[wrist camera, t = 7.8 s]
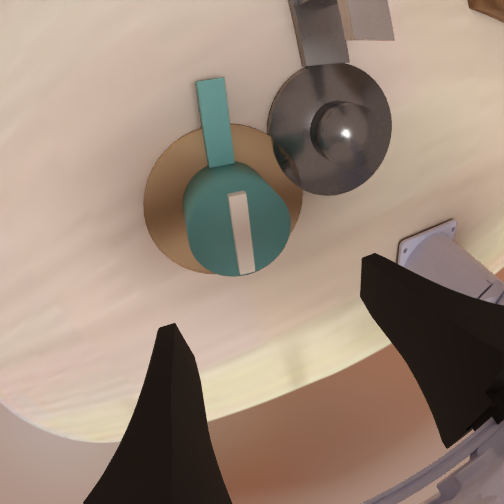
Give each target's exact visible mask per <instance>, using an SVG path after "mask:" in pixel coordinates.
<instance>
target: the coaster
mask: <svg viewBox="0 0 504 504" xmlns="http://www.w3.org/2000/svg"><path fill="white" fill-rule="evenodd" d="M230 129H231V136H232V144H233V152H234V160H235V161H237V162H241V163H244V164H246V165H248V166H250V167H251V168H253V169H254V170H255V171H256V172H257V173H258V174H259V175H260V176H261V177H262V178H263V179H264V180H265V181H266V182H267V183H268V184H269V185H270V186H271V188H272V189H273V190H274V191H275V192H276V193H277V194H278V195H279V196H280V197H281V198H282V200H283V201H284V202H285V204H286V206H287V208H288V210H289V214H290V219H291V229H290V233H291V232H292V230H293V228H294V226H295V224H296V222H297V220H298V217H299V214H300V210H301V205H302V188H300V187H298V185H295V184H294V183H293V182H292V181H293V180H292V179H291V180H290V179H289V178H288V177H287V176H286V175H285V174H284V172H283V171H282V170H281V168H280V166H279V164H278V162H277V160H276V158H275V155H274V153H275V152H273V150H274V149H273V147H274V145H273V144H274V143H275V144H276V142H275V141H274V140H273V141H274V142H273V141H272V137H270V136H269V135H267V134H265V133H263V132H261V131H259V130H257V129H254V128H251V127H248V126H243V125H238V124H230ZM279 144H280V143H279ZM272 146H273V147H272ZM278 146H279V145H277V147H278ZM278 148H279V147H278ZM281 148H282V147H281ZM281 148H280V149H281ZM283 150H284V149H282V151H281V150H279V151H281V154H282V153H284V155H285V157H287V156H288V155H289V154H288V155H286V154H285V152H283ZM281 154H280V155H281ZM290 158H291V157H289V159H290ZM287 159H288V157H287ZM292 159H293V158H292ZM292 159H290V160H291V161H292V162H293V161H294V160H292ZM283 160H284V159H283ZM287 163H290V162H289V160H288V162H287ZM291 164H292V163H291ZM291 164H290V165H291ZM294 164H295V163H293V164H292V166H293V167H294V168H296V166H295V165H296V164H295V165H294ZM206 166H208V164H207V157H206V151H205V145H204V138H203V132H202V128H200V129H197V130H195V131H192V132H190V133H188V134H186V135H185V136H183V137H181V138H180V139H179V140H177V141H176V142H174V143H173V144H172V145H171V146H170V147H169V148H168V149H167V150H166V151H165V152H164V153H163V154H162V155H161V157H160V158H159V159H158V161H157V162H156V164H155V165H154V167H153V169H152V171H151V173H150V176H149V178H148V181H147V185H146V189H145V195H144V216H145V222H146V225H147V228H148V231H149V233H150V235H151V237H152V239H153V241H154V243H155V244H156V245H157V247H158V248H159V249H160V250H161V251H162V252H163V253H164V254H165V255H166V256H167V257H168V258H169V259H171V260H172V261H173V262H175V263H177V264H178V265H180V266H182V267H184V268H187V269H189V270H192V271H196V272H200V273H206V274H216V273H213V272H211V271H209V270H207V269H206V268H204V267H203V266H202V265H201V264H200V263H199V262H198V261H197V260H196V259H195V257H194V256H193V254H192V252H191V249H190V246H189V241H188V235H187V230H186V224H185V218H184V212H183V195H184V192H185V189H186V187H187V185H188V183H189V181H190V180H191V179H192V177H193V176H194V175H195V174H196V173H197V172H198V171H200V170H201V169H202V168H204V167H206ZM292 166H291V167H292ZM288 167H289V166H288ZM293 167H292V168H293ZM292 168H291V169H292ZM294 168H293V169H292V170H293V171H292V172H293V173H294V171H295V170H294ZM296 171H298V168H297V169H296ZM296 171H295V172H296ZM296 173H299V172H296ZM294 175H295V174H294ZM296 175H297V174H296ZM296 175H295V177H296ZM298 175H299V174H298ZM298 175H297V176H298ZM297 181H298V180H297ZM299 181H300V180H299ZM299 181H298V183H299Z"/></svg>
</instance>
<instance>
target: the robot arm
mask: <svg viewBox="0 0 504 504" xmlns="http://www.w3.org/2000/svg"><path fill="white" fill-rule="evenodd" d="M456 224H457V222H456V221H455V220H454V219H453V220H450V221H448V222H446V223H443V224H441V225H439V226H436V227H434V228H431V229H429V230H427V231H424V232H422V233H419V234H417V235H415V236H412V237H410V238H407V239H405V240H403V241H402V242H401V243H400V246H399V255H398V263H395V262H393V261H391V260H389V259H387V258H385V257H383V256H380V255H378V254H376V253H374V254H371V255H368V256H366V257H363V258H362V268H361V290H360V297H361V299H362V301H363V302H364V304H365V306H366V308H367V309H368V311H369V313H370V314H371V316H372V317H373V319H374V320H375V321H376V323H377V324H378V325H379V327H380V328H381V329H382V331H383V332H384V333H385V334H386V336H387V337H388V338H389V340H390V341H391V342H392V344H393V345H394V346H395V348H396V349H397V350H398V351H399V353H400V354H401V355H402V357H403V358H404V360H405V361H406V363H407V364H408V366H409V368H410V370H411V372H412V373H413V375H414V377H415V379H416V380H417V382H418V384H419V386H420V388H421V390H422V392H423V394H424V396H425V398H426V401H427V403H428V405H429V407H430V410H431V412H432V414H433V417H434V419H435V422H436V425H437V428H438V430H439V433H440V436H441V439H442V442H443V443H444V445H445V447H446V448H449V447H450V446H452V445H453V444H454V443H456V442H457V441H458V440H460V439H461V438H462V437H464V436H465V435H466V434H467V433H469V432H470V431H471V430H472V429H473V430H474V431H475V432H474V433H472V434H471V435H470V436H469V437H467V438H466V439H465V440H464V441H462V442H461V443H460V444H458V445H457V446H456V447H455V448H453V449H452V450H450V451H449V452H448V453H446V454H445V455H444V456H442V457H441V458H439V459H438V460H437V461H435V462H433V463H432V464H431V465H429V466H427V467H426V468H424V469H423V470H421V471H420V472H418V473H416V474H415V475H413V476H411V477H410V478H408V479H406V480H405V481H403V482H401V483H400V484H398V485H396V486H394V487H392V488H390V489H389V490H387V491H385V492H383V493H381V494H379V495H377V496H375V497H373V498H371V499H369V500H367V501H365V502H363V503H360V504H397V503H399V502H401V501H402V500H404V499H406V498H407V497H409V496H411V495H413V494H414V493H416V492H418V491H419V490H421V489H422V488H424V487H425V486H427V485H429V484H430V483H432V482H433V481H435V480H436V479H438V478H439V477H441V476H442V475H443V474H445V473H446V472H448V471H449V470H450V469H452V468H453V467H454V466H456V465H457V464H458V463H460V462H461V461H462V460H464V459H465V458H466V457H467V456H469V455H470V454H471V455H470V460H469V461H468V462H467V463H466V464H464V465H463V466H461V467H460V468H458V469H457V470H455V471H454V472H452V473H451V474H450V475H448V476H447V477H446V478H445V479H443V480H442V481H441V482H439V483H438V484H437V488H438V490H439V492H438V493H437V494H435V495H434V496H432V497H430V498H429V499H427V500H425V501H424V502H422V503H420V504H504V282H503V281H501V280H499V279H498V278H497V277H496V276H495V275H494V274H493V273H492V272H490V271H489V270H488V269H487V268H486V267H485V266H484V265H482V264H481V263H480V262H479V261H478V260H476V259H475V258H474V257H473V256H472V255H470V254H469V253H468V252H467V251H466V250H464V249H463V248H462V247H461V246H459V245H458V244H457V243H456V242H454V241H453V240H454V235H455V230H456ZM83 504H232V502H231V499H230V497H229V494H228V491H227V489H226V486H225V484H224V481H223V478H222V475H221V472H220V470H219V466H218V464H217V460H216V457H215V454H214V451H213V447H212V444H211V440H210V436H209V431H208V425H207V419H206V412H205V406H204V399H203V393H202V386H201V380H200V376H199V372H198V368H197V364H196V361H195V357H194V355H193V353H192V351H191V350H190V348H189V346H188V345H187V343H186V341H185V339H184V338H183V336H182V334H181V333H180V331H179V329H178V327H177V325H176V324H175V323H173V324H170V325H166V326H163V327H160V328H159V329H158V332H157V336H156V340H155V344H154V348H153V352H152V356H151V360H150V363H149V367H148V370H147V374H146V377H145V381H144V384H143V387H142V390H141V393H140V396H139V399H138V402H137V405H136V407H135V410H134V413H133V415H132V418H131V420H130V423H129V425H128V427H127V430H126V432H125V434H124V436H123V438H122V440H121V442H120V445H119V447H118V449H117V450H116V452H115V454H114V456H113V458H112V459H111V462H110V463H109V465H108V466H107V468H106V470H105V472H104V473H103V475H102V477H101V478H100V480H99V481H98V482H97V484H96V485H95V487H94V488H93V490H92V491H91V493H90V494H89V495H88V497H87V498H86V499H85V501H84V502H83Z"/></svg>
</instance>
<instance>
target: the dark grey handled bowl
mask: <svg viewBox="0 0 504 504" xmlns="http://www.w3.org/2000/svg"><path fill="white" fill-rule="evenodd" d="M288 1H289V5H290V10H291V14H292V18H293V23H294V27H295V32H296V37H297V42H298V46H299V52H300V57H301V62H302V66H308V67H306V68H304V69H302V70H300V71H298V72H297V73H295V74H294V75H293V76H291V77H290V78H289V79H288V80H287V81H286V82H285V83H284V85H283V86H282V87H281V88H280V90H279V92H278V93H277V95H276V97H275V99H274V101H273V103H272V106H271V109H270V113H269V118H268V135H269V136H270V137H272V141H273V140H274V141H275V142H276V144H275V143H274V144H273V145H274V147H273V146H272V147H273V149H274V150H273V152H275V153H274V155H275V158H276V160H277V162H278V164H279V166H280V168H281V170H282V171H283V172H284V174H285V175H286V176H287V177H288V178H289V179H290V180H291V179H292V180H293V181H292V182H293V183H294V184H295V185H298V187H300V188H302V189H303V190H305V191H308V192H310V193H313V194H318V195H338V194H342V193H346V192H348V191H351V190H353V189H355V188H357V187H358V186H360V185H361V184H363V183H364V182H365V181H367V180H368V179H369V178H370V177H371V176H372V175H373V174H374V173H375V171H376V170H377V169H378V167H379V166H380V164H381V163H382V161H383V159H384V157H385V155H386V153H387V150H388V147H389V143H390V138H391V130H392V121H391V113H390V109H389V105H388V102H387V99H386V97H385V95H384V93H383V91H382V90H381V88H380V87H379V85H378V84H377V83H376V82H375V81H374V79H373V78H371V77H370V76H369V75H368V74H367V73H365V72H364V71H362V70H361V69H359V68H357V67H354V66H352V65H349V64H345V63H349V55H348V49H347V44H346V40H376V41H395V40H394V33H393V28H392V22H391V17H390V12H389V7H388V2H387V0H288ZM274 141H273V142H274ZM279 143H280V144H279ZM277 145H279V146H278V147H279V148H278V147H277ZM281 147H282V148H281ZM280 148H281V149H280ZM282 149H284V150H283V152H285V154H286V155H288V154H289V155H288V156H287V157H288V159H287V157H285V155H284V153H282V154H281V151H282ZM279 150H281V151H279ZM280 154H281V155H280ZM289 157H291V158H290V159H292V158H293V159H292V160H294V161H293V162H292V161H291V160H290V159H289ZM283 159H284V160H283ZM288 160H289V162H290V163H287V162H288ZM291 163H292V164H293V163H295V164H296V165H295V164H294V165H295V166H296V168H294V167H293V166H292V164H291ZM290 164H291V165H290ZM288 166H289V167H288ZM291 166H292V167H293V168H294V170H295V171H296V169H297V168H298V171H296V172H299V173H296V172H295V171H294V173H293V172H292V171H293V170H292V169H293V168H292V167H291ZM291 168H292V169H291ZM294 174H295V175H296V174H297V175H298V174H299V175H298V176H297V175H296V177H295V175H294ZM297 180H298V181H299V180H300V181H299V183H298V181H297Z"/></svg>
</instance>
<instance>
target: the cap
mask: <svg viewBox="0 0 504 504" xmlns="http://www.w3.org/2000/svg"><path fill="white" fill-rule="evenodd" d="M195 85H196V92H197V99H198V105H199V112H200V119H201V125H202V132H203V138H204V145H205V151H206V157H207V164H208V166H206V167H204V168H202V169H201V170H200V171H198V172H197V173H196V174H195V175H194V176H193V177H192V179H191V180H190V181H189V183H188V185H187V187H186V189H185V192H184V195H183V212H184V218H185V224H186V230H187V235H188V241H189V246H190V249H191V252H192V254H193V256H194V257H195V259H196V260H197V261H198V262H199V263H200V264H201V265H202V266H203V267H204V268H206V269H207V270H209V271H211V272H213V273H216V274H219V275H223V276H243V275H248V274H251V273H254V272H256V271H259V270H261V269H262V268H264V267H266V266H267V265H269V264H270V263H271V262H272V261H274V260H275V259H276V258H277V256H278V255H279V254H280V253H281V252H282V250H283V248H284V247H285V245H286V243H287V241H288V238H289V235H290V229H291V219H290V214H289V210H288V208H287V206H286V204H285V202H284V201H283V200H282V198H281V197H280V196H279V195H278V194H277V193H276V192H275V191H274V190H273V189H272V188H271V186H270V185H269V184H268V183H267V182H266V181H265V180H264V179H263V178H262V177H261V176H260V175H259V174H258V173H257V172H256V171H255V170H254V169H253V168H251V167H250V166H248V165H246V164H244V163H241V162H237V161H235V160H234V152H233V144H232V136H231V129H230V121H229V113H228V105H227V97H226V89H225V81H224V78H216V79H209V80H203V81H197V82H195Z"/></svg>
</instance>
